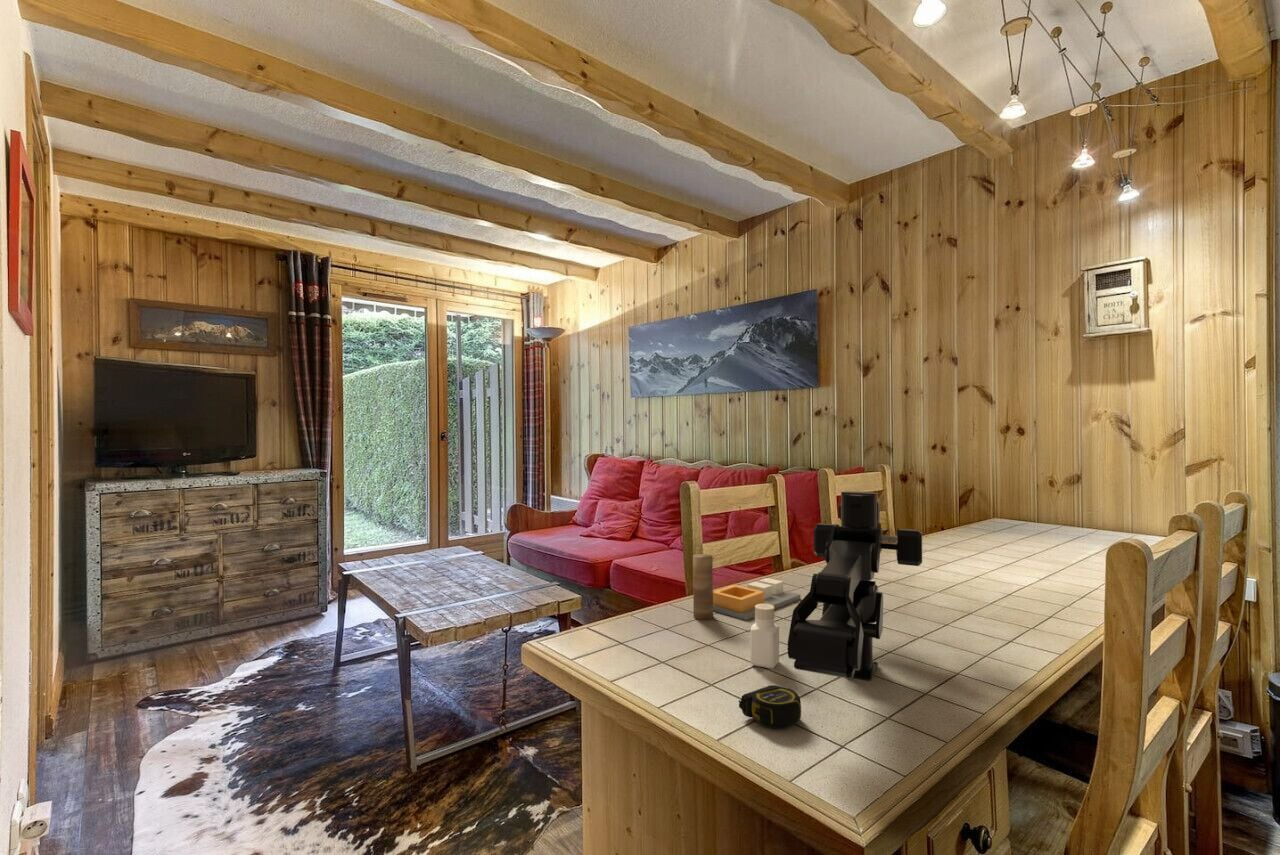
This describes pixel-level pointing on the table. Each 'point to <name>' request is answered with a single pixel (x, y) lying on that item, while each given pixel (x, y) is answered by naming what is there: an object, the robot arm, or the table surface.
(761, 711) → the tape measure
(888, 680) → the table surface
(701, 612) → the peg
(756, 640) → the pepper shaker
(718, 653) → the table surface
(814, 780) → the table surface
